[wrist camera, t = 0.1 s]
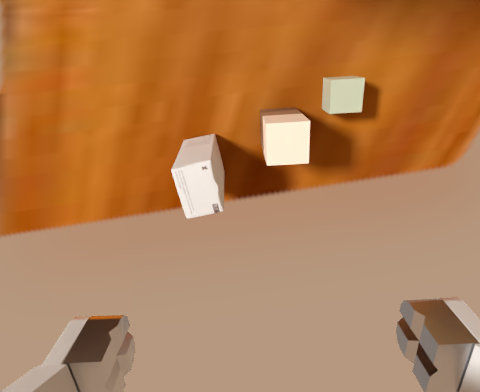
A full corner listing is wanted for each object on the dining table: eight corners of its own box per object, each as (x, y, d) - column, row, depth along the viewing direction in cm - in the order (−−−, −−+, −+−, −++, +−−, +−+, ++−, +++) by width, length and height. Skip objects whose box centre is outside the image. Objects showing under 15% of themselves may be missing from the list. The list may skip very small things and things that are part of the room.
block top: (262, 115, 48) (265, 123, 43) (302, 113, 48) (310, 120, 43) (263, 153, 51) (266, 165, 45) (301, 151, 51) (308, 163, 45)
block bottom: (260, 109, 54) (262, 115, 48) (295, 107, 54) (302, 113, 48) (261, 144, 56) (263, 153, 51) (294, 142, 56) (301, 151, 51)
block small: (323, 77, 52) (331, 79, 47) (353, 75, 52) (365, 77, 47) (321, 108, 54) (329, 113, 49) (351, 107, 54) (361, 112, 49)
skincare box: (184, 139, 56) (166, 166, 42) (217, 132, 55) (210, 157, 42) (196, 182, 59) (183, 220, 45) (227, 176, 59) (224, 213, 45)
